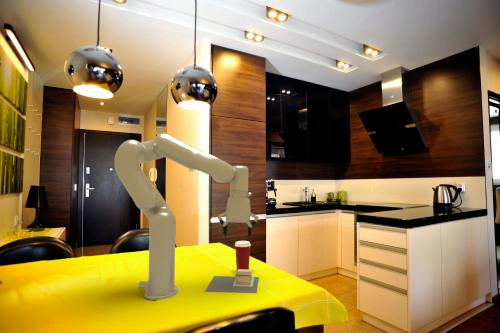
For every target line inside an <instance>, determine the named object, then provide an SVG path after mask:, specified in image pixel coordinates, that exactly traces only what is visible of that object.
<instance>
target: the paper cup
mask: <svg viewBox="0 0 500 333" xmlns="http://www.w3.org/2000/svg"><path fill="white" fill-rule="evenodd" d="M251 246H252V245H251V243H250V241H247V240H238V241H235V244H234V248H235V263H236V264H235V266H236V272H237V271H238V269H244V270H250V256H251V255H250V254H251Z"/></svg>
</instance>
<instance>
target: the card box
mask: <svg viewBox="0 0 500 333" xmlns="http://www.w3.org/2000/svg"><path fill="white" fill-rule="evenodd" d="M252 277H253V270H252V269H249V270H244V269H238V271H237V270H236V274H235V285H250V284H251V280H252Z"/></svg>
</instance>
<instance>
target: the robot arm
mask: <svg viewBox="0 0 500 333" xmlns="http://www.w3.org/2000/svg"><path fill="white" fill-rule="evenodd" d="M163 158H167V159H168V160H170V161H173V162H175V163H177V164H179V165H181V166H182V167H185V168H188V169H190V170H195V171H197V172H198V171H199V172H202V173H203V174H206V175H208V176H210V177H212V179H213V180H214V181H215V182H216V183H221V184H222V183H230V184H229V186H230V187H229V197H228V198H227V203H226V209H225V210H226V211H225V212H222V213H220V214H218V215H217V218H218V219H217V220H218V221H219V223H220V224H221V225H222V227H223V228H222V229H223V235H224V237H227V236H228V227H229V226H228V224H229V223H241V224H242V223H243V224H247V226H248V227H247V237H248V238H250V237H251V236H252V231H253V230H252V229H253V227H254V226H255V225H256V224H257V222H258V220H259V216H258V215H256V214H255V213H253V212H251V201H250V198H249V197H252V192H249V167H248V166H245V165H234V166H232V165H231V164H230V163H228V162H227V161H224V160H223V159H220V158H218V157H216V156H214V155H212V154H209V153H207V152H205V151H204V150H203V151H202V150H200V149H198V148H196V147H193V146H191V144H187V143H186V142H184V141H182V140H180V139H178V138H176V137H174V136H173V135H170V134H168V133H162V132H161V133H158V134H157V135H156V136H155V137H154V139H150V140H147V141H138V140H136V139H128V140H125V141H124V142H122V143H121V144H120V146H119V147H118V148H117V150H116V152H115V154H114V161H113V162H114V170H115V172H116V175H117V177H118V178H119V181H121V183H122V186H124V189H125V190H126V191H127V193H128V195H129V196H130V197H131V198H132V201H133V202H134V204H135V206H136V207H137V208H138V209H139V210H141V211H142V212H143V214H144V216H145V217H146V219H148V221H149V223H148V279H147V281H145V280H144V281H142V280H140V281H138V289H145V290H144V292H143V297H144V298H145V299H147V300H150V301H151V300H152V301H158V300H164V299H169V298H173V297H175V296H176V295H178V293H179V291H180V288H179V286H178V285H175V284H176V283H175V280H176V279H175V278H176V276H175V275H176V273H175V272H176V270H175V269H176V231H177V230H176V229H177V219H176V216H175V214H174V212H173V211H172V209H171V208H170V206H169V205H168V203H167V202H166V201H165V199H164V197H163V195H162V194H161V193H160V191H159V190H158V189H157V188H156V187H155V186H153V184H152V183H151V181H150V179H149V178H148V177H147V174H146V173H145V172H144V170H143V169H142V166H141V164H144V163H147V162H148V163H149V162H152V161H156V160H160V159H163ZM223 216H225V221H224V219H223V218H222V217H223ZM251 217H252V218H253V219H254V220H253V221H251Z"/></svg>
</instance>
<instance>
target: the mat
mask: <svg viewBox="0 0 500 333" xmlns="http://www.w3.org/2000/svg"><path fill="white" fill-rule="evenodd" d="M235 276H236V275H235ZM235 276H230V275H229V276H227V275H214V276H213V277H212V279H211V280H210V281H209V284H208V285H207V286H206V288H205V290H204V293H230V294H231V293H232V294H233V293H234V294H238V293H239V294H257V293H258V286H259V281H260V280H259V279H260V277H259V276H252V280H251V284H250V285H235Z"/></svg>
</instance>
